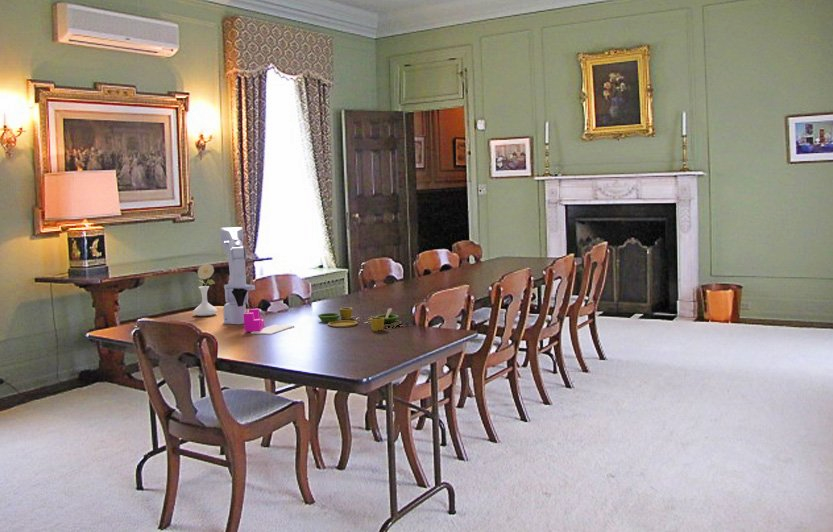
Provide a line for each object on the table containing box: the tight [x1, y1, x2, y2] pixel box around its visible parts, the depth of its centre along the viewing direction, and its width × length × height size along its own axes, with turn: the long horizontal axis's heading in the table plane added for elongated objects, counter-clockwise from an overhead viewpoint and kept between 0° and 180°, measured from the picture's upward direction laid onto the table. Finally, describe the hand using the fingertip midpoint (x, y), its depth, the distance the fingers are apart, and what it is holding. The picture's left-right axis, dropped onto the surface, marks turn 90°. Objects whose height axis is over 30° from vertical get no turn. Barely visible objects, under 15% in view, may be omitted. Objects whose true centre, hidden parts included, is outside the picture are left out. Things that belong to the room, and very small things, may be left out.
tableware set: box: [317, 307, 402, 332], centre depth 354 cm, size 41×28×6 cm
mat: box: [250, 324, 295, 336], centre depth 344 cm, size 10×18×1 cm, turn 157°
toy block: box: [243, 308, 265, 333], centre depth 347 cm, size 15×6×8 cm, turn 0°
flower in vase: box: [192, 263, 218, 317], centre depth 385 cm, size 13×11×25 cm
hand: (240, 306), depth 349 cm, fingers closed
